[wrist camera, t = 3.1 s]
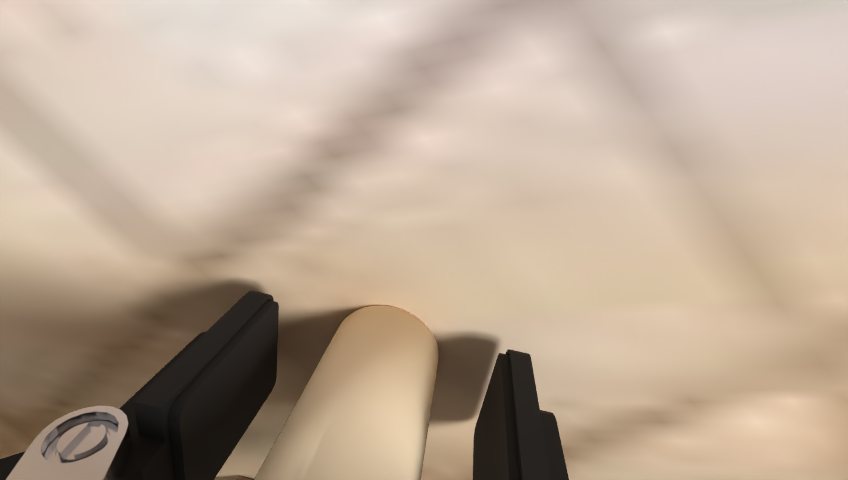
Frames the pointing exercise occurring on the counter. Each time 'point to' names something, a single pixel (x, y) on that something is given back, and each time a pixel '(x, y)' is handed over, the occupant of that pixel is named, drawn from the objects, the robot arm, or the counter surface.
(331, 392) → the teal block with rod
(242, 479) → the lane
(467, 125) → the counter surface
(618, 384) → the counter surface
